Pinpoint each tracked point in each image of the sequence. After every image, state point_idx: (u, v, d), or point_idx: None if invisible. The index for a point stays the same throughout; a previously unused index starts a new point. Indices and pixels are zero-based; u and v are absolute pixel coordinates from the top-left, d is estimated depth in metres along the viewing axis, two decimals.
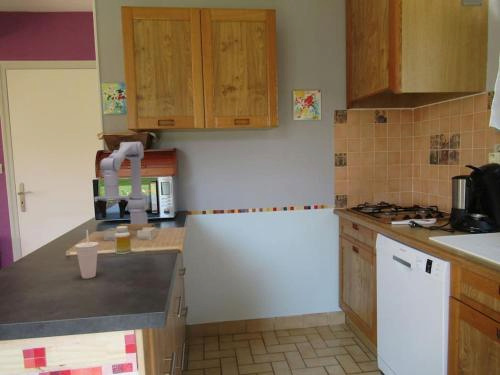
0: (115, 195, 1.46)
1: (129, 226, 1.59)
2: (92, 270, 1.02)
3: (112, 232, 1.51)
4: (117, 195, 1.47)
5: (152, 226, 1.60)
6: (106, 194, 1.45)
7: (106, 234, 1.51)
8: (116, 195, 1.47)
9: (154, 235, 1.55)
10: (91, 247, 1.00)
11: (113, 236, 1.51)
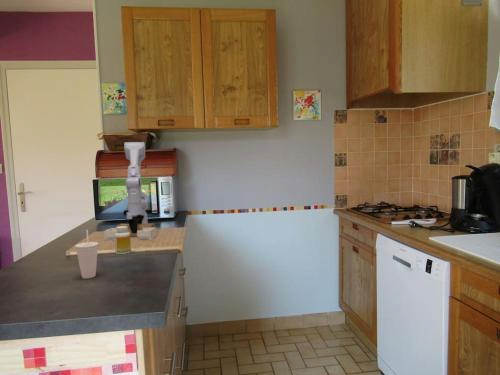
0: (129, 212, 1.58)
1: (129, 226, 1.59)
2: (92, 270, 1.02)
3: (112, 232, 1.51)
4: (131, 212, 1.58)
5: (152, 226, 1.60)
6: None
7: (106, 234, 1.51)
8: (130, 212, 1.58)
9: (154, 235, 1.55)
10: (91, 247, 1.00)
11: (113, 236, 1.51)
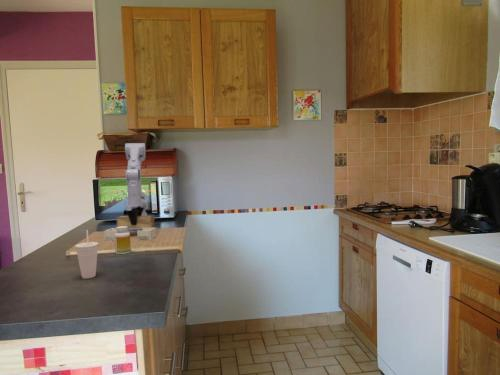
0: (129, 203, 1.58)
1: None
2: (92, 270, 1.02)
3: (112, 232, 1.51)
4: (131, 204, 1.57)
5: (152, 218, 1.60)
6: None
7: (106, 234, 1.51)
8: (130, 203, 1.58)
9: (154, 235, 1.55)
10: (91, 247, 1.00)
11: (113, 236, 1.51)
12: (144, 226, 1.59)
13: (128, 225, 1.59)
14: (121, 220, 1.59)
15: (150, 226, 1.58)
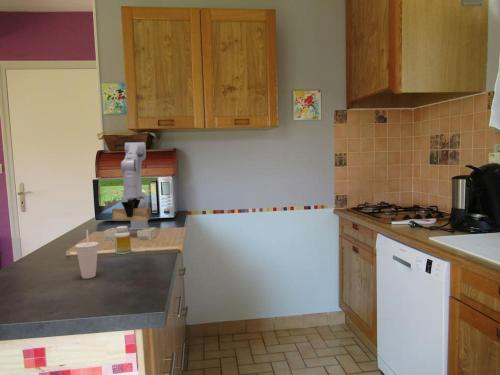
0: (125, 195, 1.53)
1: None
2: (92, 270, 1.02)
3: (112, 232, 1.51)
4: (126, 195, 1.53)
5: (148, 210, 1.55)
6: None
7: (106, 234, 1.51)
8: (125, 195, 1.53)
9: (154, 235, 1.55)
10: (91, 247, 1.00)
11: (113, 236, 1.51)
12: (140, 218, 1.54)
13: (124, 217, 1.54)
14: (116, 212, 1.54)
15: (147, 218, 1.54)
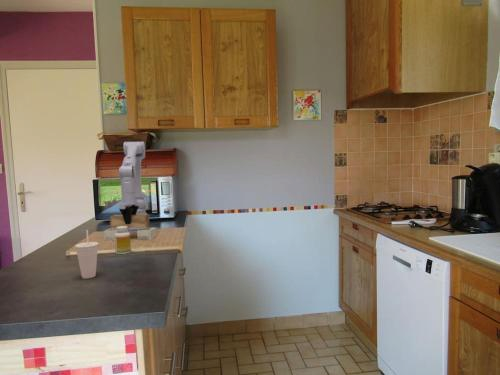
0: (123, 201, 1.51)
1: None
2: (92, 270, 1.02)
3: (112, 232, 1.51)
4: (124, 202, 1.51)
5: (147, 217, 1.53)
6: None
7: (106, 234, 1.51)
8: (123, 202, 1.51)
9: (154, 235, 1.55)
10: (91, 247, 1.00)
11: (113, 236, 1.51)
12: (139, 225, 1.52)
13: (122, 224, 1.52)
14: (114, 219, 1.52)
15: (145, 225, 1.52)
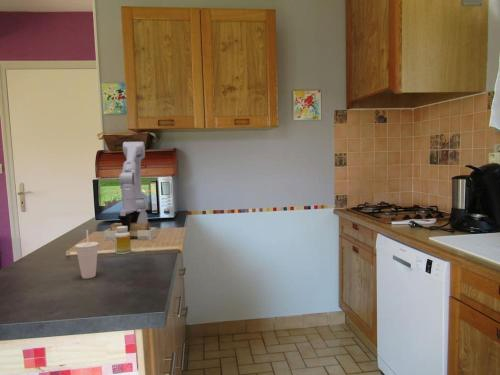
0: (123, 208, 1.51)
1: None
2: (92, 270, 1.02)
3: (112, 232, 1.51)
4: (125, 208, 1.51)
5: (147, 225, 1.53)
6: None
7: (106, 234, 1.51)
8: (124, 208, 1.51)
9: (154, 235, 1.55)
10: (91, 247, 1.00)
11: (113, 236, 1.51)
12: None
13: None
14: (115, 228, 1.53)
15: None
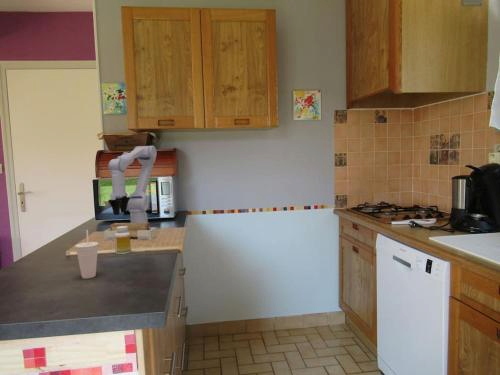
0: (113, 193, 1.60)
1: (123, 225, 1.52)
2: (92, 270, 1.02)
3: (112, 232, 1.51)
4: (115, 193, 1.59)
5: (147, 225, 1.53)
6: None
7: (106, 234, 1.51)
8: (114, 193, 1.60)
9: (154, 235, 1.55)
10: (91, 247, 1.00)
11: (113, 236, 1.51)
12: None
13: None
14: (115, 228, 1.53)
15: None
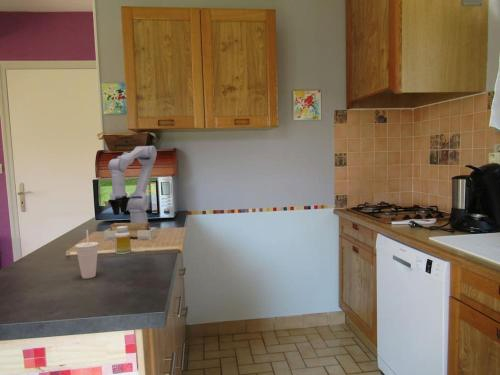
0: (113, 193, 1.60)
1: (123, 225, 1.52)
2: (92, 270, 1.02)
3: (112, 232, 1.51)
4: (115, 193, 1.59)
5: (147, 225, 1.53)
6: None
7: (106, 234, 1.51)
8: (114, 193, 1.60)
9: (154, 235, 1.55)
10: (91, 247, 1.00)
11: (113, 236, 1.51)
12: None
13: None
14: (115, 228, 1.53)
15: None
